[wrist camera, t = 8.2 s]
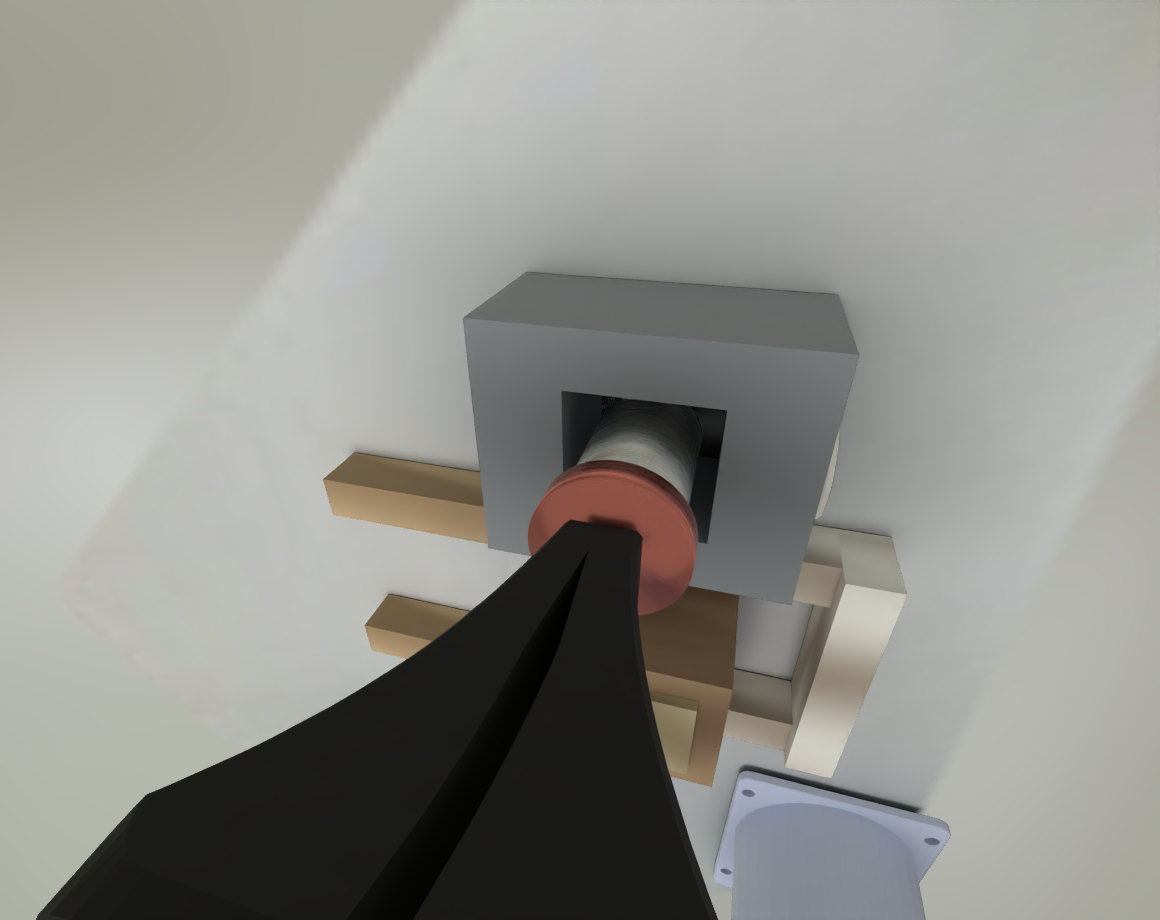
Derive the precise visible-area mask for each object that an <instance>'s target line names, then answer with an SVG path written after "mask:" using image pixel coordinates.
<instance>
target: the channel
mask: <svg viewBox="0 0 1160 920" xmlns="http://www.w3.org/2000/svg"><path fill="white" fill-rule="evenodd" d="M323 481H324V484H325V488H326V491H327V495H328V498H329V502H330V505H331V509H332V512H333V515H337V516H342V517H348V518H353V519H358V520H364V521H369V522H374V523H380V524H385V525H391V526H396V527H401V528H407V529H412V530H417V531H423V532H428V533H433V534H439V535H444V536H449V537H455V538H460V539H465V540H471V541H476V542H482V543H487V544H488V540H487V531H486V522H485V513H484V504H483V495H482V486H481V477H480V472H473V471H467V470H461V469H454V468H448V467H442V466H435V465H429V464H423V463H416V462H410V461H403V460H397V459H391V458H384V457H378V456H372V455H365V454H359V453H353V454H352V455H351V456H350V457H349V458H347V459H346V460H345V461H344V462H343V463H342V464H340V465H339V466H338V467H337V468H336V469H335V470H333V471H332V472H331V473H330V474H329V475H328V476H327V477H325V478H324V479H323ZM906 597H907V592H906V588H905V585H904V581H903V577H902V574H901V570H900V567H899V563H898V560H897V556H896V552H895V549H894V545H893V542H892V538H891V537H886V536H880V535H873V534H867V533H861V532H854V531H848V530H842V529H835V528H829V527H823V526H816V525H813V527H812V531H811V535H810V538H809V542H808V546H807V549H806V553H805V557H804V561H803V564H802V568H801V572H800V575H799V579H798V583H797V586H796V590H795V594H794V597H793V601H797V602H803V603H808V604H813V605H814V607H813V610H812V613H811V617H810V620H809V623H808V627H807V630H806V633H805V637H804V640H803V643H802V647H801V650H800V653H799V657H798V660H797V663H796V667H795V670H794V673H793V677H792V680H791V681H787V680H782V679H778V678H773V677H768V676H764V675H759V674H755V673H750V672H745V671H741V670H736V669H734V678H733V691H732V696H731V701H730V705H729V710H728V714H727V719H726V724H725V728H724V733H723V736H726V737H730V738H734V739H738V740H742V741H746V742H750V743H754V744H758V745H763V746H767V747H771V748H775V749H779V750H783V751H785V767H787V768H791V769H795V770H799V771H803V772H807V773H811V774H815V775H819V776H823V777H827V778H832V775H833V773H834V770H835V768H836V766H837V763H838V761H839V758H840V756H841V754H842V751H843V749H844V746H845V744H846V741H847V739H848V737H849V734H850V732H851V729H852V727H853V725H854V722H855V720H856V717H857V715H858V713H859V710H860V708H861V705H862V703H863V700H864V698H865V696H866V693H867V691H868V688H869V686H870V684H871V681H872V679H873V676H874V674H875V672H876V669H877V667H878V664H879V662H880V659H881V657H882V655H883V652H884V650H885V647H886V645H887V643H888V640H889V638H890V635H891V633H892V631H893V628H894V626H895V623H896V621H897V618H898V616H899V614H900V611H901V609H902V606H903V604H904V602H905V599H906ZM468 613H469V611H464V610H460V609H455V608H451V607H446V606H441V605H437V604H432V603H428V602H423V601H418V600H414V599H409V598H405V597H400V596H395V595H391V594H388V596H387V597H386V598H385V599H384V601H383V602H382V603H381V605H380V606H379V607H378V609H377V610H376V611H375V613H374V614H373V615H372V616H371V618H370V619H369V620H368V622H367V623H366V624H365V628H366V632H367V635H368V639H369V642H370V646H371V649H372V650H373V651H377V652H381V653H385V654H389V655H393V656H397V657H401V658H405V659H408V658H409V657H411V656H412V655H414V654H415V653H416V652H418V651H419V650H421V649H422V648H424V647H425V646H426V645H428V644H429V643H430V642H432V641H433V640H435V639H436V638H437V637H439V636H440V635H441V634H443V633H444V632H445V631H447V630H448V629H449V628H450V627H452V626H453V625H454V624H456V623H457V622H458V621H459V620H460V619H462V618H463V617H464V616H465V615H467V614H468Z"/></svg>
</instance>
